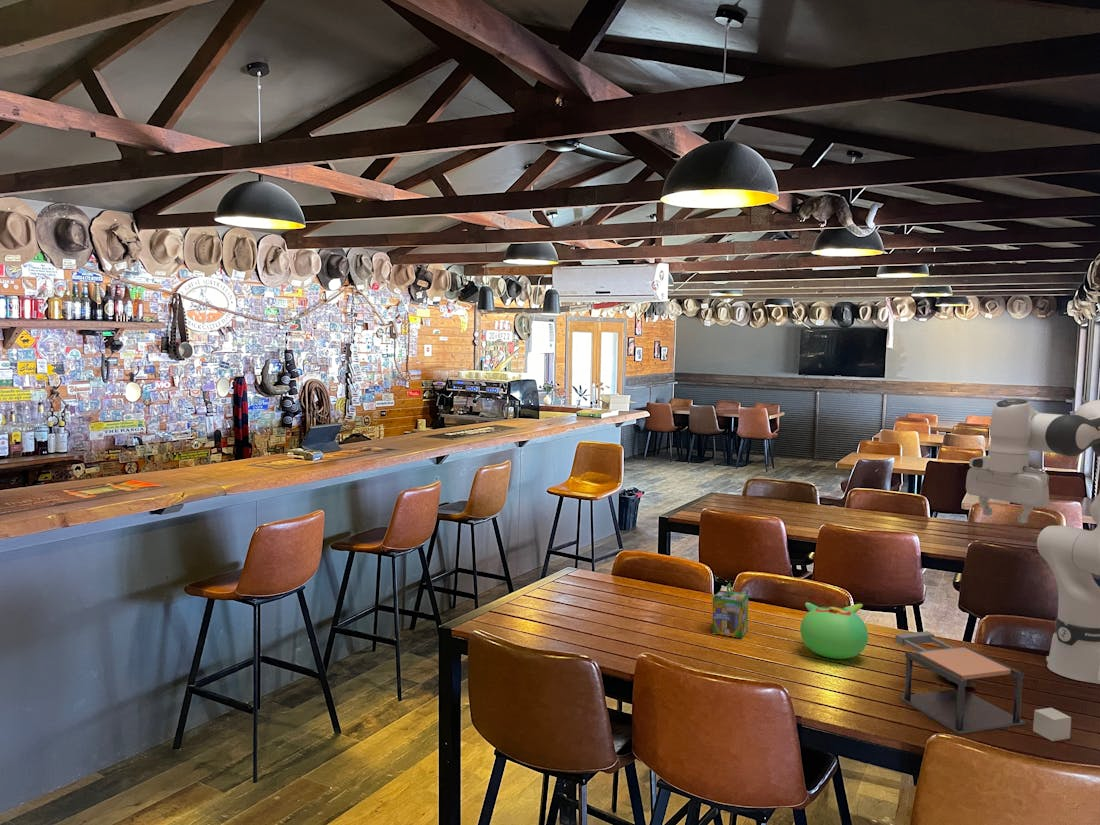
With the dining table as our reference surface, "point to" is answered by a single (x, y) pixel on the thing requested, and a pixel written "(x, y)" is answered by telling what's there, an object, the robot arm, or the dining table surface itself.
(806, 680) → the dining table surface
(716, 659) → the dining table surface
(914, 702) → the stand
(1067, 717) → the grey cube
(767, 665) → the dining table surface
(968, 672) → the trapdoor
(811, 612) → the green rounded blob
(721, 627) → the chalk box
